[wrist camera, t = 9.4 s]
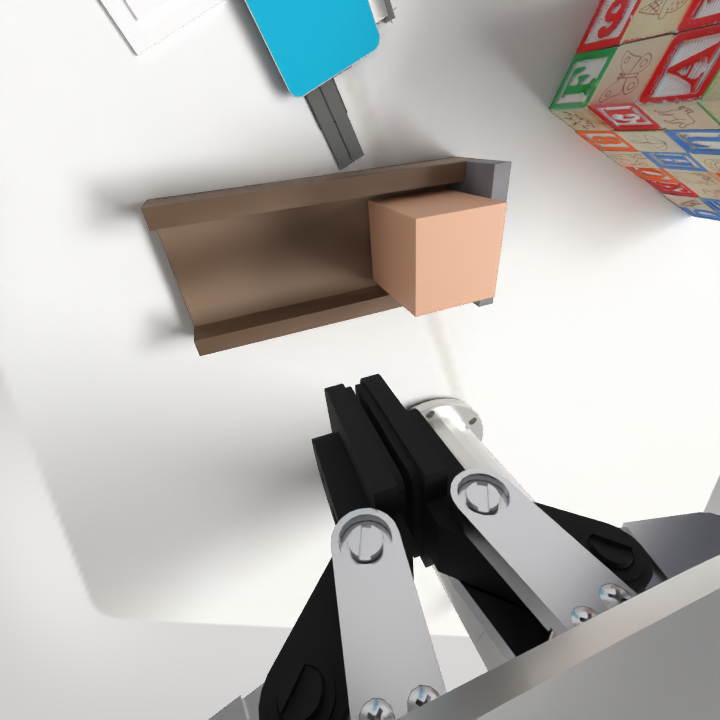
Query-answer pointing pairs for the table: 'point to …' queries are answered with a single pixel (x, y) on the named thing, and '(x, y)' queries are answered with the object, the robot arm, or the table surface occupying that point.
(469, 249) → the block
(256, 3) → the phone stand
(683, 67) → the stack of blocks
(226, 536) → the table surface
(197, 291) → the chute
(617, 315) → the table surface
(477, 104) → the table surface
